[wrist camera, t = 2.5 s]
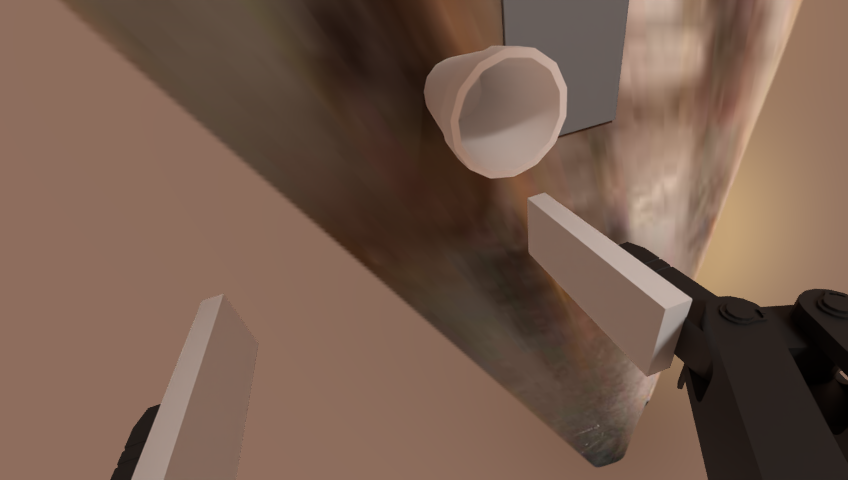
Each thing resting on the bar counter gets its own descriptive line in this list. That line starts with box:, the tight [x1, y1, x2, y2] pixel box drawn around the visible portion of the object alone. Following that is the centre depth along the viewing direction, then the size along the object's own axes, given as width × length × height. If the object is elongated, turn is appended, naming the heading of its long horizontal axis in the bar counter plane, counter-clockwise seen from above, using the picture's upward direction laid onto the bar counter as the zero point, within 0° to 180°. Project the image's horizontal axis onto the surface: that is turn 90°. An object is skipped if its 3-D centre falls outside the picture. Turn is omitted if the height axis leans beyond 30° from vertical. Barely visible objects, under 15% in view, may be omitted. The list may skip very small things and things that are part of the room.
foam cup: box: [424, 46, 567, 179], centre depth 31 cm, size 10×9×13 cm
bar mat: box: [502, 0, 629, 136], centre depth 38 cm, size 16×14×1 cm
